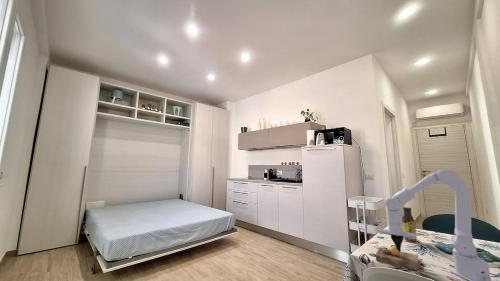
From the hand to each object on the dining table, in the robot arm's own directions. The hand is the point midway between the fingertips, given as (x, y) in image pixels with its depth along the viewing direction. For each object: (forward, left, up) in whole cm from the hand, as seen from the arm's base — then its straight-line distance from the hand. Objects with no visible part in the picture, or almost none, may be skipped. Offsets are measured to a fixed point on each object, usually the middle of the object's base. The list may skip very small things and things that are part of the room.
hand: (398, 251), depth 98 cm
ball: (+1, +1, 0) cm, 1 cm away
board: (+1, +1, -4) cm, 4 cm away
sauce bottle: (+24, -28, -5) cm, 37 cm away
